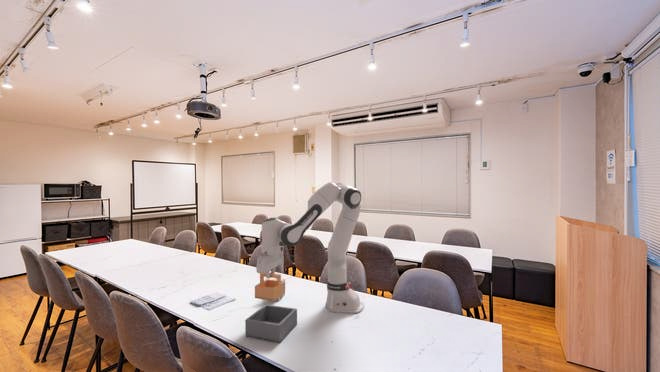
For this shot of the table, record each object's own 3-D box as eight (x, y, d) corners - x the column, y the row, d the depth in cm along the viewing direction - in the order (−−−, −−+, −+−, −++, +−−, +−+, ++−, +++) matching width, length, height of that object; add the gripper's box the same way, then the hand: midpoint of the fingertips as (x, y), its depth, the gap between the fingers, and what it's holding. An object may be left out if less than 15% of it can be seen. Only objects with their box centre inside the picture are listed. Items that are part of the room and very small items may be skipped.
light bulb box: (279, 301, 170) (278, 283, 170) (268, 300, 171) (268, 283, 172) (285, 294, 181) (285, 278, 181) (275, 294, 182) (275, 277, 182)
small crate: (285, 292, 144) (285, 271, 144) (274, 301, 134) (274, 278, 134) (266, 290, 148) (266, 269, 148) (254, 298, 138) (254, 275, 138)
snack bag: (217, 294, 184) (217, 290, 185) (236, 301, 173) (236, 297, 173) (189, 303, 169) (189, 300, 169) (207, 312, 157) (207, 308, 157)
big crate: (297, 324, 141) (296, 308, 141) (279, 343, 124) (279, 325, 124) (266, 319, 147) (266, 304, 147) (245, 337, 130) (245, 319, 130)
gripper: (264, 255, 130) (264, 284, 130) (285, 246, 149) (285, 272, 149) (253, 254, 132) (253, 283, 132) (275, 245, 152) (275, 270, 151)
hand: (270, 277), depth 141 cm, fingers closed on small crate
